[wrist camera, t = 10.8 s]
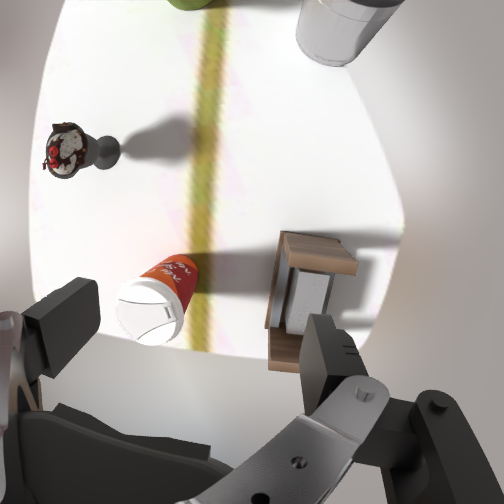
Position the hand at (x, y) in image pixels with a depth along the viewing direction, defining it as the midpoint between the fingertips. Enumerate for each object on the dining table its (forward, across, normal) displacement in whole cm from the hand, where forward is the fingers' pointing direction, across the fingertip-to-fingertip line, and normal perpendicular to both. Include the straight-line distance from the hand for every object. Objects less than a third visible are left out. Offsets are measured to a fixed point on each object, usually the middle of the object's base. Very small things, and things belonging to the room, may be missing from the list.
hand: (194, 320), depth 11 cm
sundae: (+30, +21, -6) cm, 38 cm away
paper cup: (+30, +8, +10) cm, 33 cm away
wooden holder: (+30, -8, +10) cm, 33 cm away
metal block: (+29, -9, +10) cm, 32 cm away
